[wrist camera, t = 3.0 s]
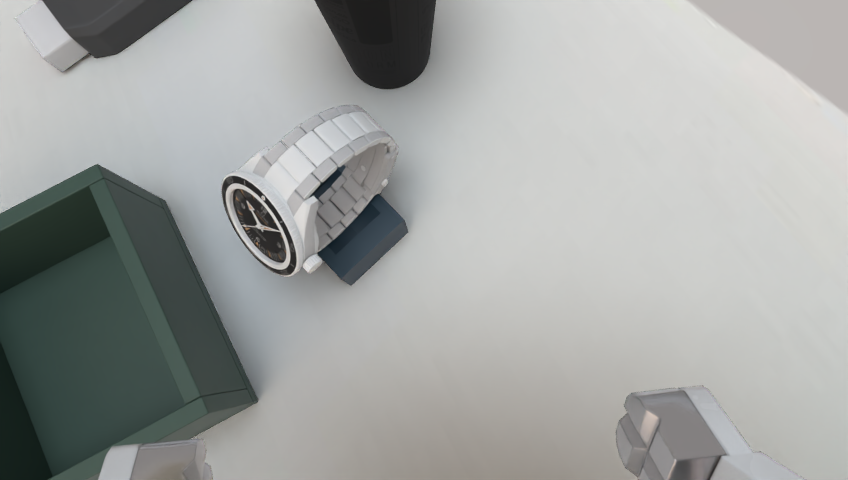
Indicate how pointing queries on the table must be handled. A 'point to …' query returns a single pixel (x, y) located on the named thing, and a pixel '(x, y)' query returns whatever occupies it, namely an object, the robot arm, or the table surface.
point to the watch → (318, 197)
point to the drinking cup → (382, 37)
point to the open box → (104, 331)
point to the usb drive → (90, 26)
